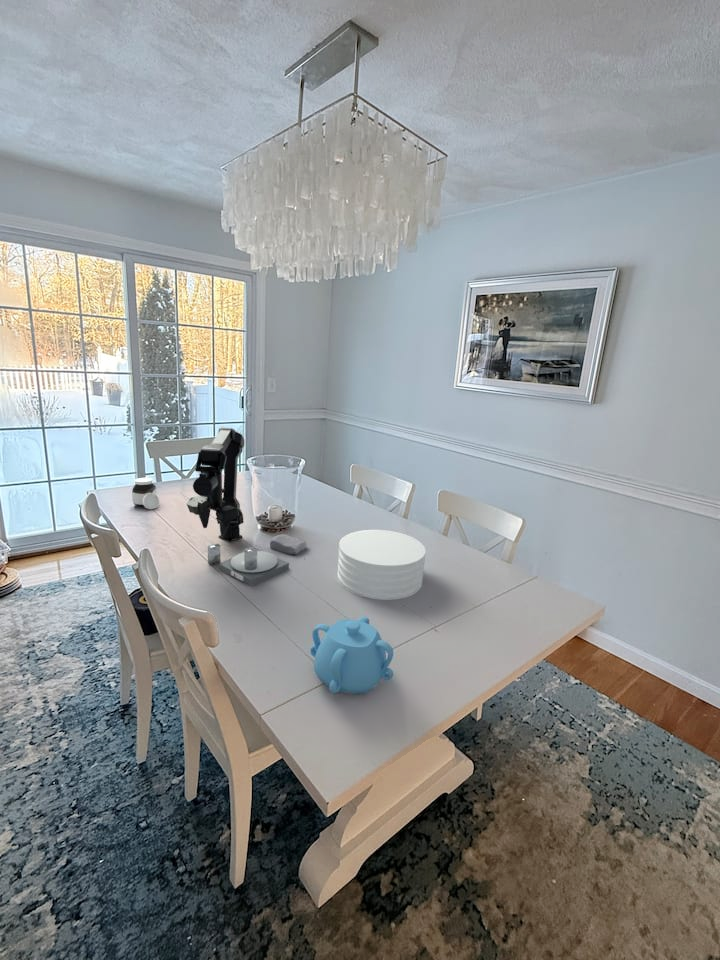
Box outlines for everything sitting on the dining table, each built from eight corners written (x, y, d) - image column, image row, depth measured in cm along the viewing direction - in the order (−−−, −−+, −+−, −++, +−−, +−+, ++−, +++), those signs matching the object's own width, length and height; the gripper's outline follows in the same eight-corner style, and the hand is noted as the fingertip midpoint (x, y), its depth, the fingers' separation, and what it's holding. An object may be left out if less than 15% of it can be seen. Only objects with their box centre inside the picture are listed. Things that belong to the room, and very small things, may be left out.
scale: (217, 569, 146) (216, 561, 145) (256, 554, 159) (256, 546, 158) (250, 586, 137) (250, 577, 136) (288, 568, 150) (289, 560, 150)
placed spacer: (241, 567, 142) (241, 550, 141) (251, 563, 146) (251, 546, 144) (250, 571, 140) (250, 554, 139) (259, 567, 143) (260, 550, 142)
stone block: (283, 544, 173) (267, 548, 164) (285, 532, 173) (269, 535, 164) (308, 553, 168) (293, 557, 159) (311, 540, 168) (295, 544, 159)
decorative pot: (321, 709, 92) (324, 652, 88) (307, 658, 107) (309, 608, 103) (395, 696, 97) (401, 642, 93) (371, 650, 112) (376, 601, 108)
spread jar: (144, 500, 205) (142, 476, 202) (167, 503, 204) (165, 478, 201) (127, 508, 194) (125, 483, 190) (151, 511, 192) (150, 485, 189)
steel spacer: (205, 562, 151) (205, 546, 149) (215, 558, 154) (215, 542, 152) (213, 566, 148) (212, 549, 147) (223, 562, 151) (222, 546, 150)
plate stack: (377, 552, 168) (380, 523, 165) (439, 581, 149) (443, 549, 146) (319, 574, 148) (321, 541, 145) (381, 610, 130) (385, 574, 126)
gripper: (172, 484, 143) (175, 530, 147) (209, 498, 132) (210, 547, 137) (203, 478, 151) (204, 521, 156) (239, 491, 141) (239, 536, 145)
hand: (213, 531), depth 148 cm, fingers open, 9 cm apart
